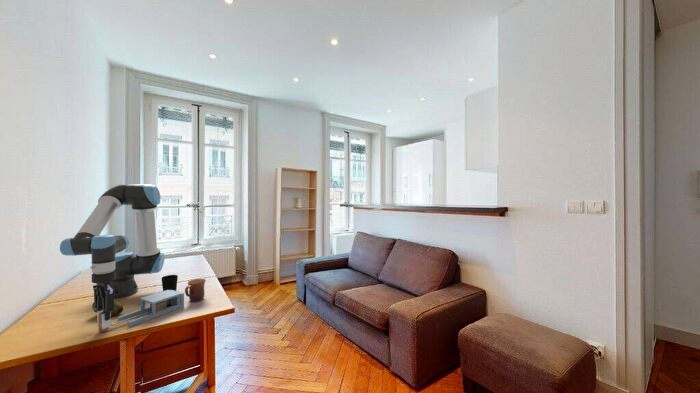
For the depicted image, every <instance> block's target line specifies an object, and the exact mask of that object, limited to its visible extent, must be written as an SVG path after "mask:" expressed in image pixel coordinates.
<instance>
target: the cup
mask: <svg viewBox="0 0 700 393" xmlns="http://www.w3.org/2000/svg"><path fill="white" fill-rule="evenodd" d="M178 277H179V276H178V275H177V274H168V275H163V276H162V277H161V287H162V291H166V290H174V291H177V287H178Z"/></svg>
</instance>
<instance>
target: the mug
mask: <svg viewBox="0 0 700 393" xmlns="http://www.w3.org/2000/svg"><path fill="white" fill-rule="evenodd" d="M205 284H206V279H205V278H195V279H191V280H188V282H187V286H185V288H184V295H185V296H186V297H188V300H189V301H190V302H200V301H201V300H203V299H205V298H204V297H205Z"/></svg>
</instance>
